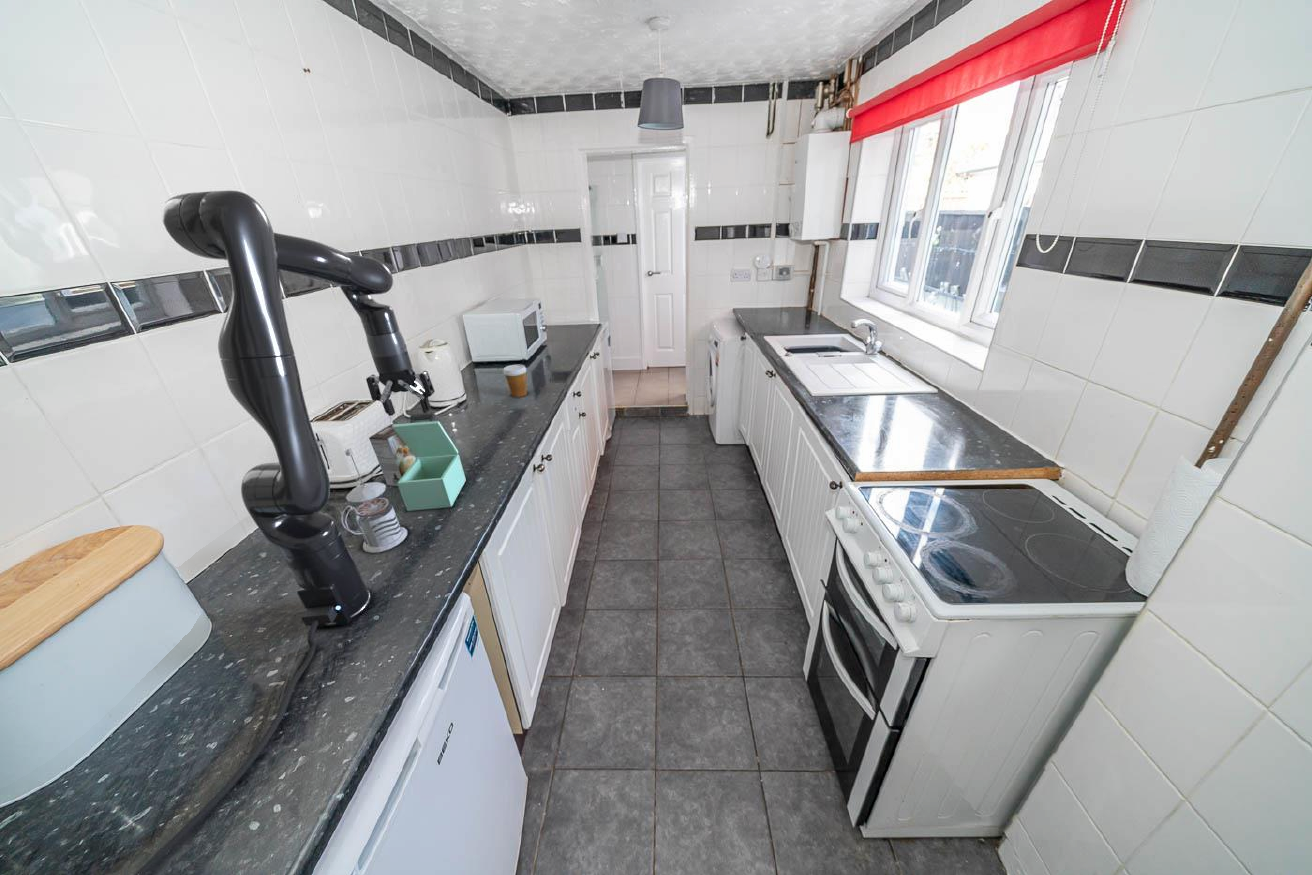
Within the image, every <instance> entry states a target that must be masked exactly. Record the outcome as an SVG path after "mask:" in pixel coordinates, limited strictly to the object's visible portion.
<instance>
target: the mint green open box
mask: <svg viewBox="0 0 1312 875" xmlns="http://www.w3.org/2000/svg"><path fill="white" fill-rule="evenodd" d="M466 481H467V479H466V475H465V471H464V469H463V464H462V460H461V457H460V454H459V453H458V454H450V455H438V456H426V457H420V458H417V459H416V460H415V461H414V463H413V464H412V465H411V466H410V468H409V469H408V470H407V471H406V473H405V474H404V475H403V477H402V478H401V479H400V480H399V482H398V483H397V484H398V486H397V487H398V489H399V493H400V495H401V498H402V500H403V503H404V506H405V509H406V511H407V512H410V511H411V512H413V511H420V510H422V511H423V510H432V509H442V508H443V509H444V508H452V506H454V503H455V501H456V500H457V497H458V496H459V494H460V492H461V491H462V489H463V487H464V485H465V483H466Z"/></svg>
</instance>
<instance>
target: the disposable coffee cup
mask: <svg viewBox="0 0 1312 875" xmlns="http://www.w3.org/2000/svg"><path fill="white" fill-rule="evenodd" d="M502 373H503V375H504V376H505V379H506V382H507V386H508V387H509V390H510V394H511V396H512V397H514V398H520V397H525V396H526V395H527V394H528V388H527V386H528V385H527V367H526V366H525V365H524V364H510V365H507V366H505V367H504V368H503V372H502Z"/></svg>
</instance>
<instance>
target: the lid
mask: <svg viewBox="0 0 1312 875" xmlns="http://www.w3.org/2000/svg"><path fill="white" fill-rule="evenodd" d="M436 417H437V416H436V413H435V412H428V413H423V412H422V413H413V414H410V415H409V420H410V421H409V422H408V423H396V424H395V425H393V426H392V427H393V428H394V430H395V431H396V432H397V433H398V435H399V436H400V437H401V438H402V440H403V441H404V442H405V443H406V445H407V446H408V447H409V448H410V450H411V451H412V452H413V453H414V455H415V456H416V457H431V456H443V455H455V454H459V450H458V448H457V447H456V446H455V444H454V442H453V441H452V439H451V437H450V436H449V435H448V433H447V432H446V430H445V428H444V427H443V425H442V424H441V422H440V421H439V420H436ZM421 421H422V422H421Z"/></svg>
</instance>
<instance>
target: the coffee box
mask: <svg viewBox="0 0 1312 875" xmlns="http://www.w3.org/2000/svg"><path fill="white" fill-rule="evenodd" d="M393 425H395V424H394V423H391V424H389V425H387V426H386V427H384V428H382V429H380V430H378V431H377V432H376V433H374V434H373V435H371V436H369V437H368V440H369V441H370V444H371V446H372V449H373V451H374V454H375V456H376V460H377V462H378V464H379V467H380V470H381V472H382V474H383V477H384V480H385V482H386V486H391V487H398V484H397V483H398V482H399V480H400V479H401V478H402V477H403V475H404V474H405V473H406V471H407V470H408V469H409V468H410V466H411V465H412V464H413V463H414V461H415V460H416V459H417V458H420V457H416V456H415V455H414V453H413V452H412V451H411V450H410V448H409V447H408V446H407V445H406V443H405V442H404V441H403V440H402V438H401V437H400V436H399V435H398V433H397V432H396V431H395V430H394V428H393V427H392V426H393Z"/></svg>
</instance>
